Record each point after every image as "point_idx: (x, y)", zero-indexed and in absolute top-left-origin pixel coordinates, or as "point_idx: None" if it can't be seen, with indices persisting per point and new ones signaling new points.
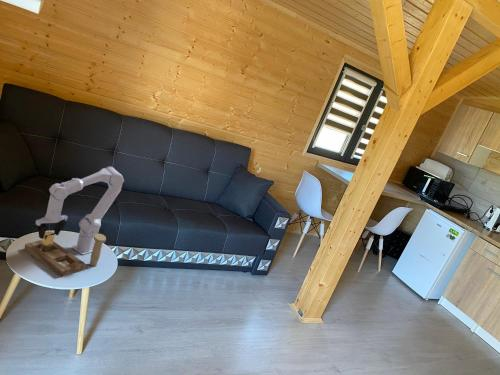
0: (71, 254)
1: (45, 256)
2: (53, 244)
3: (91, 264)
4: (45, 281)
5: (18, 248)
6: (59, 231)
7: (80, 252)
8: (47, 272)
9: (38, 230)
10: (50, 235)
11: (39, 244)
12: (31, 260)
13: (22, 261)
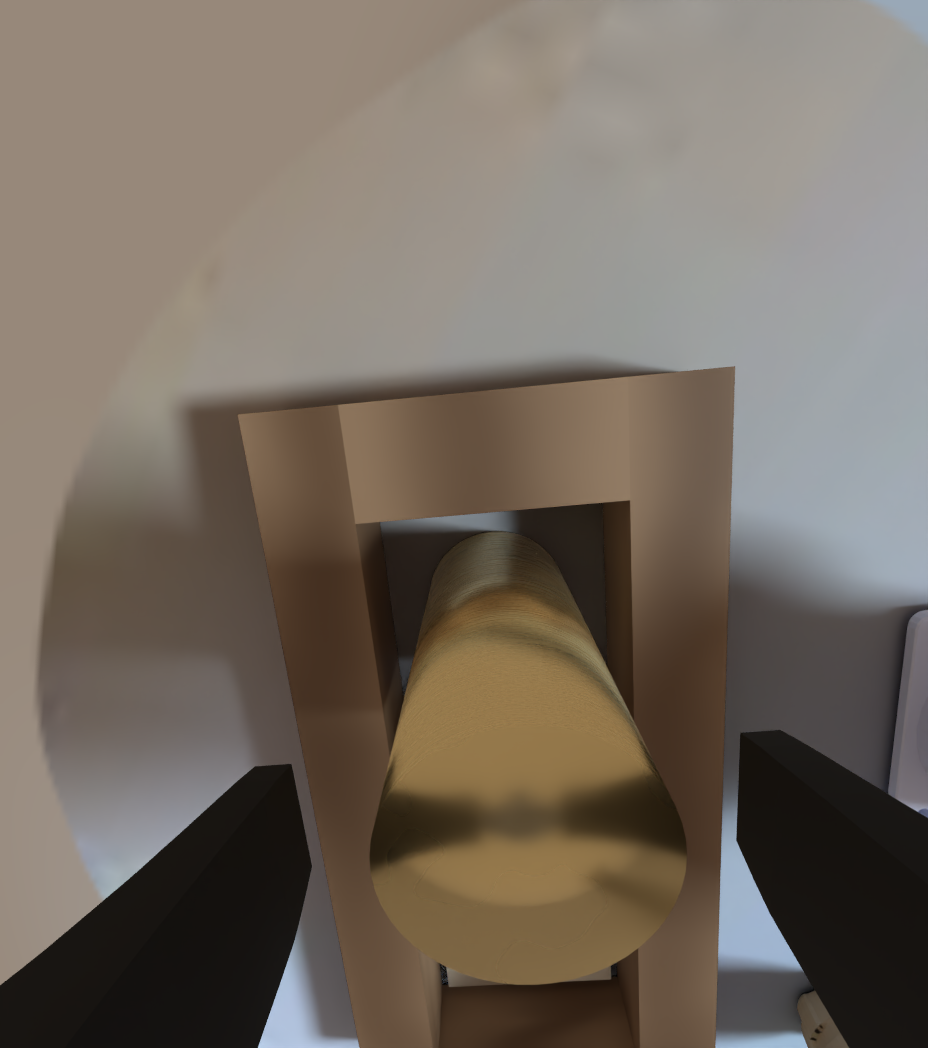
0: (705, 925)
1: (352, 847)
2: (655, 604)
3: (806, 1027)
4: None
5: (221, 353)
6: (868, 1030)
7: (903, 787)
8: (310, 937)
9: (31, 988)
10: (507, 941)
11: (450, 514)
12: (257, 689)
13: (154, 670)
